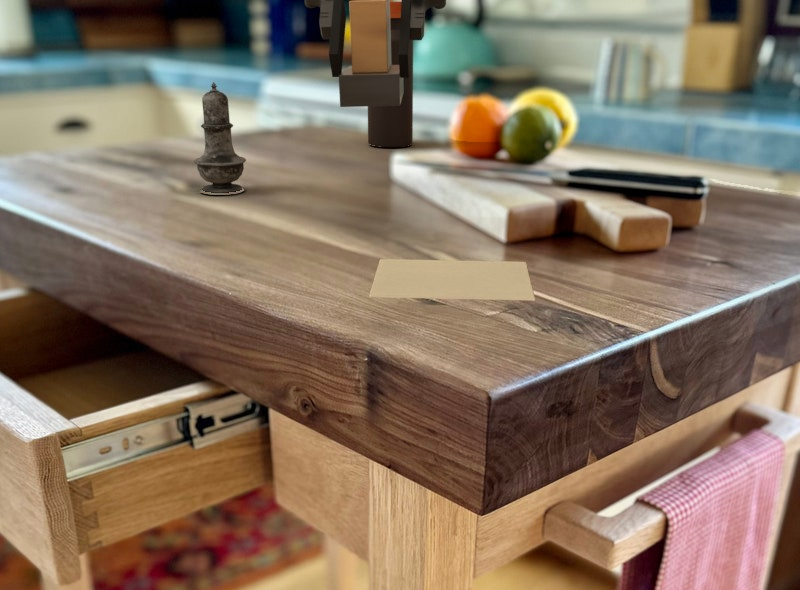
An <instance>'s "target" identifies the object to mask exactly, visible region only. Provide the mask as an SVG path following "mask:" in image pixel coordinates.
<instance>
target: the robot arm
mask: <svg viewBox="0 0 800 590" xmlns="http://www.w3.org/2000/svg"><path fill="white" fill-rule="evenodd" d="M400 2H401V20H400V39H399V70H400V78H409V64H410V42H411V40H413V41H422V40H423V39H424V36H425V24H426V23H425V20H426V19H425V18H426V12H427V10H428V9H431V8H434V9H436V10H442V9H444V8H445V7H446V6H447V0H401V1H400ZM304 5H305V7H306V8H308V9H314V8H316V7H318V8H320V10H319V19H318V23H319V30H320V35H321V38H322V40H329V46H328V47H329V48H328V58H329V65H330V70H331V71H330V72H331V76H332V78H339V75H340V74H341V73H342V72H343V60H344V49H345V37H346V25H347V13H346V3H345V0H304Z"/></svg>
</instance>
